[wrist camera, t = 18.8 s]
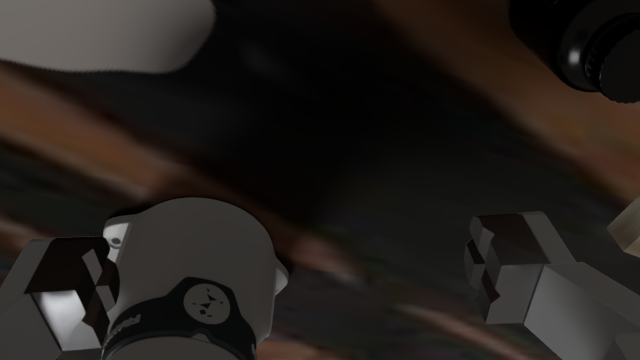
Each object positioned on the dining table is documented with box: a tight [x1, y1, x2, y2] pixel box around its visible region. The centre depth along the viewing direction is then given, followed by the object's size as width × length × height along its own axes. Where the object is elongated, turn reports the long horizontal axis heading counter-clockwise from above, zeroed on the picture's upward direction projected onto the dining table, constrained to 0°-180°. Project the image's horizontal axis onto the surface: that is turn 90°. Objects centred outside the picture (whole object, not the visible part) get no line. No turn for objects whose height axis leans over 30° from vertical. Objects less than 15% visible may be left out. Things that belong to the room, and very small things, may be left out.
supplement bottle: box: [509, 0, 640, 104], centre depth 33 cm, size 7×7×12 cm
